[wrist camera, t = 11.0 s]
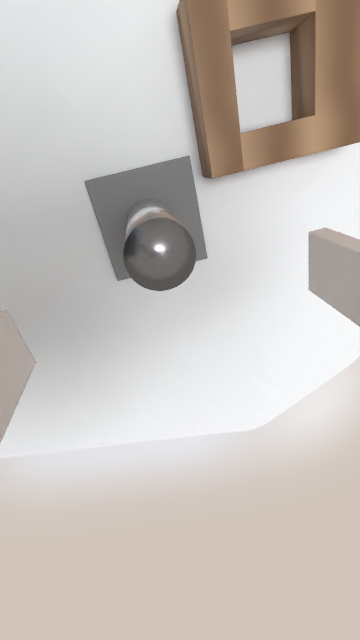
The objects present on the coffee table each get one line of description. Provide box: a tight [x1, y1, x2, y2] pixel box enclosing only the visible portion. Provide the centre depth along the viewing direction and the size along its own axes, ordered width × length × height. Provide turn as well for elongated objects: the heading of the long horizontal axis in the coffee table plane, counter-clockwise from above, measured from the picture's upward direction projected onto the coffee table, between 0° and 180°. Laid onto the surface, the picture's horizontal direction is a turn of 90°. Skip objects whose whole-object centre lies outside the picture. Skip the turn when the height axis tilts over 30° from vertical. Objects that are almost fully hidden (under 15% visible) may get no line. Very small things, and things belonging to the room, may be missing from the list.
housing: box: [177, 0, 360, 178], centre depth 25 cm, size 14×12×4 cm
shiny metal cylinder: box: [123, 199, 196, 291], centre depth 25 cm, size 5×5×13 cm
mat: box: [85, 156, 207, 281], centre depth 31 cm, size 10×10×1 cm
